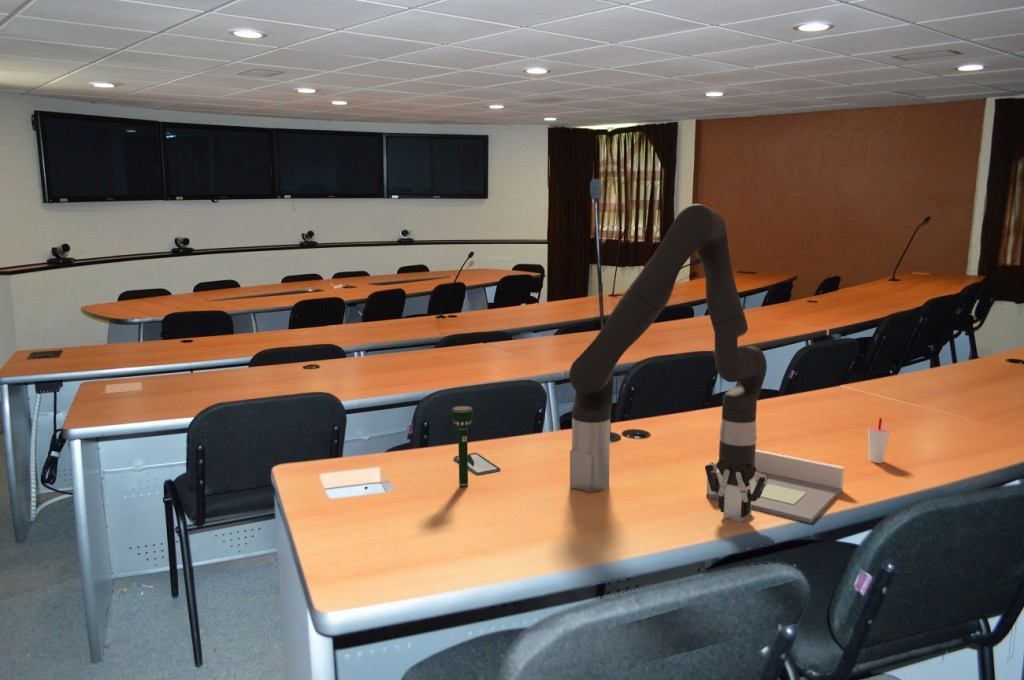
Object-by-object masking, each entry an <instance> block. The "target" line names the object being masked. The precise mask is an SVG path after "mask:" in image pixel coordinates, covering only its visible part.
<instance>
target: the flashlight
mask: <svg viewBox="0 0 1024 680" xmlns="http://www.w3.org/2000/svg"><path fill="white" fill-rule="evenodd" d="M451 418H452V421H453V423H454V425H455V426H456V427H457V431H458V432H457V435H458V441H457V442H458V456H459V463H458V485H459V487H460V488H462V489H466V488H468V486H469V470H468V454H469V453H468V448H469V447H468V444H469V443H468V427H469V426H470V425H471V423H473V418H474V409H473V407H472V406H470V405H462V404H461V405H455V406H453V407H452V408H451Z"/></svg>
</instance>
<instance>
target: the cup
mask: <svg viewBox="0 0 1024 680" xmlns="http://www.w3.org/2000/svg"><path fill="white" fill-rule="evenodd" d="M882 420H883V418H882V417H879V419H878V425H871V426H868V427H867V433H868V434H867V435H868V437H867V439H868V459H869V460H868V461H870V462H872V463H877V464H881V463H883V462H884V460H885V459H884V458H885V454H886V449H887V445H888V441H889V440H888V439H889V434H890V432H891V430H890V429H889V428H887V427H885V426H882V422H883V421H882Z"/></svg>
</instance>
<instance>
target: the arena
mask: <svg viewBox="0 0 1024 680" xmlns="http://www.w3.org/2000/svg"><path fill="white" fill-rule="evenodd" d="M755 468H756V470H757V472H759V473H760V474H762V475H764V474H766V475H768V477H769V478H768V480H767V483H766V485H765V487H764V489H763V492H762V494H761V496H760V498H759V499H757V500H756V501H754V502H753V501H751V506H752V510H756V511H759V512H764V513H767V514H771V515H776V516H779V517H783V518H787V519H792V520H796V521H800V522H804V523H807V524H812V523H813V522H814V521H815V520H816V519H817V517H818V516H820V514H822V512H823V511H824V510H825V509H826V508H828V507H829V505H830V504H831V503H832V502H833V501H834V500H835V499H836V498H837V497H838V496H839V495H840V494H841V493H842V492H843V489H844V488H843V486H844V475H845V473H844V472H845V466H841V465H836V464H832V463H827V462H823V461H822V462H821V461H816V460H810V459H805V458H801V457H795V456H792V455H785V454H780V453H775V452H770V451H767V450H766V451H764V450H761V449H757V448H756V451H755ZM717 476H718V480H719V483H720V484H721V481H722V478H723V477H722V475H721V473H720V472H719V470H718V471H717ZM706 477H707V476H706ZM750 484H751V493H752V494H753V491H754V489H755V487H756V485H757V483H756V482H755V477H754V476H753V477H752V478H751V479H750ZM706 498H707V499H710V500H715V501H719V495H718V493H716V492H715V491H714V492H713V491H711V489H710V485H709V481H708V477H707V478H706Z"/></svg>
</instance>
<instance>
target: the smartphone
mask: <svg viewBox="0 0 1024 680" xmlns="http://www.w3.org/2000/svg"><path fill="white" fill-rule="evenodd" d="M453 460H454V461H455V462H456V461H457V463H458V464H459V455H455V456H453ZM468 472H471V473H473V474H474V475H476V476H483V475H487V474H493V473H498V472H501V467H499V466H497V465H496V464H495V463H493V462H492V461H490V460H488V459H487V458H486V457H484V456H483V455H481V454H480V453H479V452H471V453H468Z"/></svg>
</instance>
